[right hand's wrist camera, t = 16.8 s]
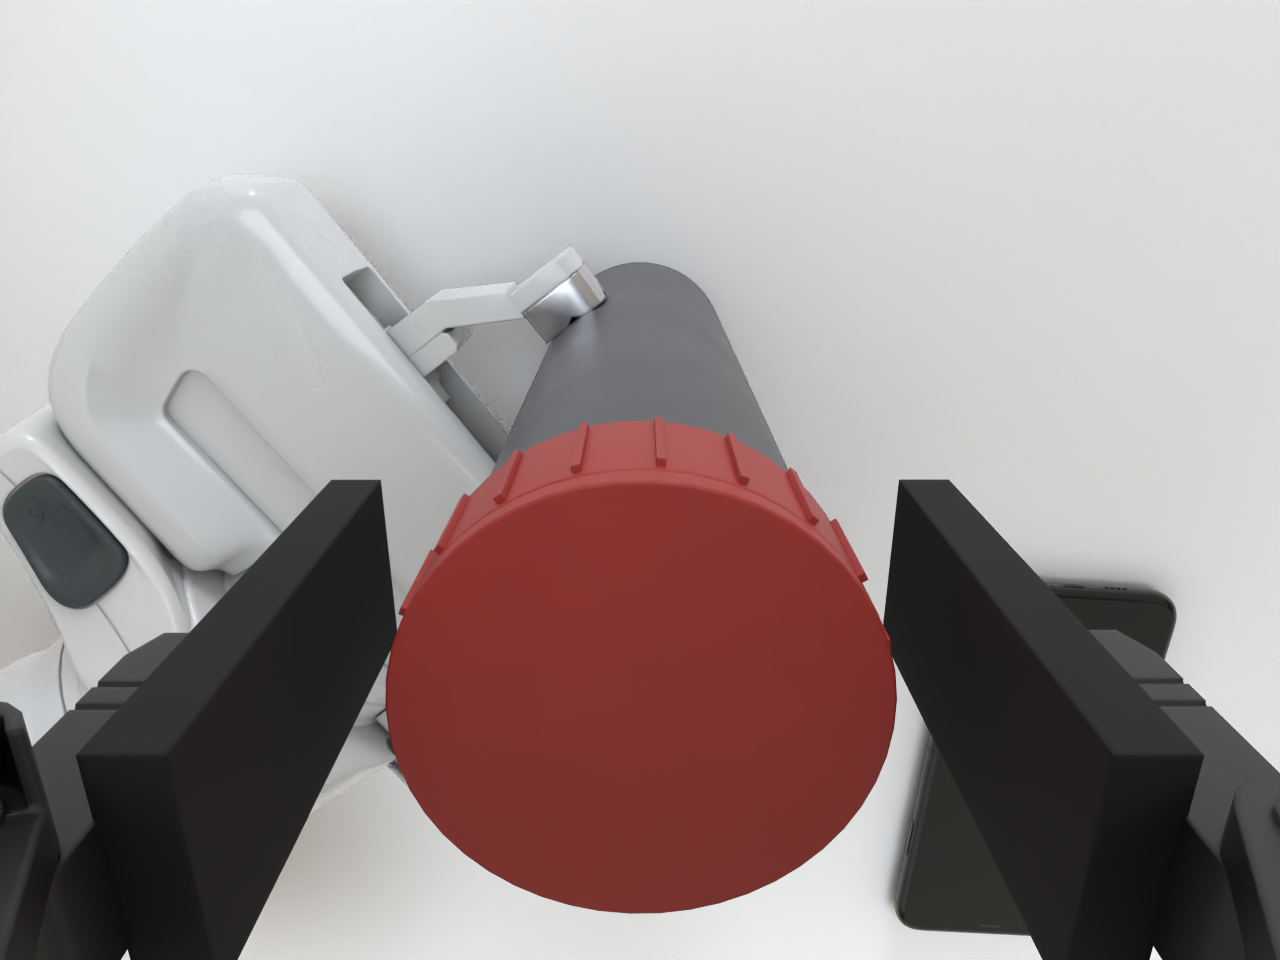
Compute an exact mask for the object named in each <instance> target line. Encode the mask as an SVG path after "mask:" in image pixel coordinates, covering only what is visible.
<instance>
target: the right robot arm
mask: <svg viewBox="0 0 1280 960" xmlns="http://www.w3.org/2000/svg"><path fill="white" fill-rule="evenodd" d="M883 626H884V628H885V630H886V632H887V634H888V636H889V638H890V641H891V647H890V649H891V654H892V657H893V659H894V661H895V663H896V665H897V667H898V669H899V671H900V673H901V675H902V677H903V679H904V681H905V683H906V685H907V687H908V689H909V691H910V693H911V695H912V697H913V699H914V701H915V703H916V705H917V707H918V709H919V711H920V713H921V715H922V717H923V719H924V721H925V723H926V726H927V728H928V730H929V732H930V734H931V736H932V738H933V740H934V742H935V744H936V746H937V748H938V750H939V752H940V754H941V756H942V758H943V760H944V762H945V764H946V766H947V768H948V770H949V772H950V774H951V776H952V778H953V780H954V782H955V784H956V786H957V788H958V790H959V792H960V794H961V796H962V798H963V800H964V802H965V804H966V806H967V808H968V810H969V812H970V814H971V816H972V818H973V820H974V822H975V824H976V826H977V828H978V830H979V832H980V834H981V837H982V839H983V841H984V843H985V845H986V847H987V849H988V851H989V853H990V855H991V857H992V859H993V861H994V863H995V865H996V867H997V869H998V871H999V873H1000V875H1001V877H1002V879H1003V881H1004V883H1005V885H1006V887H1007V889H1008V891H1009V893H1010V895H1011V897H1012V899H1013V901H1014V903H1015V905H1016V907H1017V909H1018V911H1019V913H1020V915H1021V917H1022V919H1023V921H1024V923H1025V925H1026V927H1027V929H1028V931H1029V933H1030V935H1031V937H1032V939H1033V941H1034V943H1035V946H1036V948H1037V950H1038V952H1039V954H1040V956H1041V958H1042V960H1149V959H1150V956H1151V952H1152V948H1153V946H1154V948H1155V949H1156V951H1157V952H1158V954H1159V955H1160V957H1161V958H1162V960H1280V773H1279V772H1278V771H1277V770H1276V769H1275V768H1274V767H1273V766H1272V765H1271V764H1270V763H1269V762H1268V761H1267V760H1266V759H1265V758H1264V757H1263V756H1262V755H1261V754H1260V753H1259V752H1257V751H1256V750H1255V749H1254V748H1253V747H1252V746H1251V745H1250V744H1249V743H1248V742H1247V741H1246V740H1245V739H1244V738H1243V737H1242V736H1241V735H1240V734H1239V733H1238V732H1237V731H1236V730H1235V729H1234V728H1233V727H1232V726H1231V725H1230V724H1229V723H1228V722H1227V721H1226V720H1225V719H1224V718H1223V717H1222V716H1221V715H1220V714H1219V713H1218V712H1217V711H1216V710H1215V709H1214V708H1213V707H1207V706H1206V701H1205V700H1204V699H1203V698H1202V697H1201V696H1200V695H1199V694H1198V693H1197V692H1196V691H1195V690H1194V689H1193V688H1192V687H1191V686H1190V685H1189V684H1184V683H1183V678H1182V677H1181V676H1180V675H1179V674H1178V673H1177V672H1176V671H1175V670H1174V669H1173V668H1172V667H1171V666H1170V665H1169V664H1168V663H1167V662H1166V661H1164V660H1163V659H1162V658H1161V657H1160V656H1159V655H1158V654H1157V653H1156V652H1155V651H1153V650H1151V649H1149V648H1148V647H1146V646H1144V645H1142V644H1141V643H1139V642H1137V641H1135V640H1133V639H1132V638H1130V637H1128V636H1126V635H1125V634H1123V633H1121V632H1119V631H1117V630H1088V629H1087V628H1086V627H1085V626H1084V625H1083V624H1082V623H1081V622H1080V621H1079V619H1078V618H1077V617H1076V616H1075V615H1074V614H1073V613H1072V612H1071V611H1070V610H1069V609H1068V608H1067V607H1066V605H1065V604H1064V603H1063V602H1062V601H1061V600H1060V599H1059V598H1058V597H1057V596H1056V595H1055V594H1054V593H1053V591H1052V590H1051V589H1050V588H1049V587H1048V586H1047V585H1046V584H1045V583H1044V582H1043V581H1042V580H1041V579H1040V577H1039V576H1038V575H1037V574H1036V573H1035V572H1034V571H1033V570H1032V569H1031V568H1030V567H1029V566H1028V565H1027V563H1026V562H1025V561H1024V560H1023V559H1022V558H1021V557H1020V556H1019V555H1018V554H1017V553H1016V552H1015V551H1014V549H1013V548H1012V547H1011V546H1010V545H1009V544H1008V543H1007V542H1006V541H1005V540H1004V539H1003V538H1002V537H1001V535H1000V534H999V533H998V532H997V531H996V530H995V529H994V528H993V527H992V526H991V525H990V524H989V523H988V521H987V520H986V519H985V518H984V517H983V516H982V515H981V514H980V513H979V512H978V511H977V510H976V509H975V507H974V506H973V505H972V504H971V503H970V502H969V501H968V500H967V499H966V498H965V497H964V496H963V495H962V493H961V492H960V491H959V490H958V489H957V488H956V487H955V486H954V485H953V484H952V483H951V482H950V481H949V480H899V486H898V495H897V504H896V513H895V522H894V531H893V541H892V550H891V559H890V568H889V577H888V586H887V595H886V605H885V614H884V623H883ZM396 633H397V623H396V614H395V605H394V595H393V586H392V577H391V568H390V559H389V550H388V541H387V531H386V522H385V513H384V504H383V495H382V486H381V480H331V481H330V482H329V483H328V484H327V485H326V486H325V487H324V488H323V489H322V490H321V491H320V492H319V493H318V495H317V496H316V497H315V498H314V499H313V500H312V501H311V502H310V503H309V504H308V505H307V506H306V507H305V509H304V510H303V511H302V512H301V513H300V514H299V515H298V516H297V517H296V518H295V519H294V520H293V521H292V523H291V524H290V525H289V526H288V527H287V528H286V529H285V530H284V531H283V532H282V533H281V534H280V535H279V537H278V538H277V539H276V540H275V541H274V542H273V543H272V544H271V545H270V546H269V547H268V548H267V549H266V551H265V552H264V553H263V554H262V555H261V556H260V557H259V558H258V559H257V560H256V561H255V562H254V563H253V565H252V566H251V567H250V568H249V569H248V570H247V571H246V572H245V573H244V574H243V575H242V576H241V577H240V579H239V580H238V581H237V582H236V583H235V584H234V585H233V586H232V587H231V588H230V589H229V590H228V591H227V593H226V594H225V595H224V596H223V597H222V598H221V599H220V600H219V601H218V602H217V603H216V604H215V605H214V607H213V608H212V609H211V610H210V611H209V612H208V613H207V614H206V615H205V616H204V617H203V618H202V619H201V621H200V622H199V623H198V624H197V625H196V626H195V627H194V628H193V629H192V630H191V631H190V632H189V633H163V634H161V635H160V636H158V637H156V638H154V639H153V640H151V641H149V642H147V643H145V644H144V645H142V646H140V647H138V648H137V649H135V650H133V651H131V652H130V653H128V654H126V655H124V656H123V657H122V658H121V659H120V660H119V661H118V662H117V663H116V664H115V665H114V666H113V667H112V668H111V669H110V670H109V671H108V672H107V673H106V674H105V675H104V676H103V677H102V678H101V679H100V680H99V681H98V686H97V687H92V688H91V689H90V690H89V691H88V692H87V693H86V694H85V695H84V696H83V697H82V698H81V699H80V700H79V701H78V702H77V703H76V704H75V709H74V710H69V711H68V712H67V713H66V714H65V715H64V716H63V717H62V718H61V719H60V720H59V721H58V722H57V723H56V724H54V725H53V726H52V727H51V728H50V729H49V730H48V731H47V732H46V733H45V734H44V735H43V736H42V737H41V738H40V739H39V740H38V741H37V742H36V743H35V744H34V745H33V746H32V745H31V742H30V738H29V735H28V731H27V728H26V724H25V721H24V718H23V714H22V712H21V711H20V710H18V709H17V708H15V707H14V706H12V705H11V704H9V703H8V702H0V960H121V959H122V957H123V955H124V954H125V952H126V951H127V949H128V952H129V956H130V959H131V960H238V958H239V956H240V954H241V952H242V950H243V948H244V945H245V943H246V941H247V939H248V937H249V935H250V933H251V931H252V929H253V927H254V925H255V923H256V921H257V919H258V917H259V915H260V913H261V911H262V909H263V907H264V905H265V903H266V901H267V899H268V897H269V895H270V893H271V891H272V889H273V887H274V885H275V883H276V881H277V879H278V877H279V875H280V873H281V871H282V869H283V867H284V865H285V863H286V861H287V859H288V857H289V855H290V853H291V851H292V849H293V847H294V845H295V843H296V841H297V839H298V837H299V834H300V832H301V830H302V828H303V826H304V824H305V822H306V820H307V818H308V816H309V814H310V812H311V810H312V808H313V806H314V804H315V802H316V800H317V798H318V796H319V794H320V792H321V790H322V788H323V786H324V784H325V782H326V780H327V778H328V776H329V774H330V772H331V770H332V768H333V766H334V764H335V762H336V760H337V758H338V756H339V754H340V752H341V750H342V748H343V746H344V744H345V742H346V740H347V738H348V736H349V734H350V732H351V730H352V728H353V725H354V723H355V721H356V719H357V717H358V715H359V713H360V711H361V709H362V707H363V705H364V703H365V701H366V699H367V697H368V695H369V693H370V691H371V689H372V687H373V685H374V683H375V681H376V679H377V677H378V675H379V673H380V671H381V669H382V667H383V665H384V663H385V661H386V659H387V657H388V655H389V653H390V651H391V648H392V645H393V642H394V639H395V636H396Z"/></svg>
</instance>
